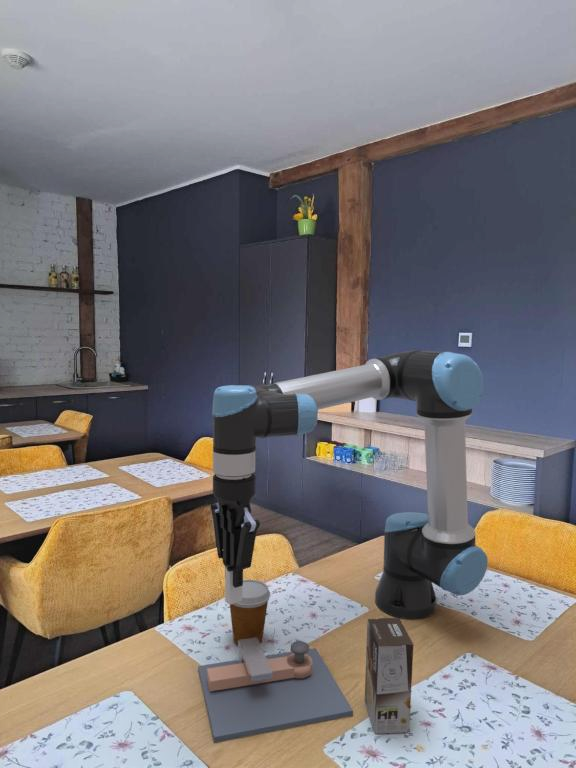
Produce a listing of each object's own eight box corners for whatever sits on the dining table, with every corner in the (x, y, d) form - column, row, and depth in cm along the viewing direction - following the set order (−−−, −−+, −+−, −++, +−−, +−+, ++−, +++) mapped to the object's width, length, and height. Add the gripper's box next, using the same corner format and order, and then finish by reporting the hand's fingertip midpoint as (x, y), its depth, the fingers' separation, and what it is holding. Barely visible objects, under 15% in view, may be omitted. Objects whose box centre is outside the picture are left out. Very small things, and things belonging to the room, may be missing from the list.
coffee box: (410, 733, 95) (415, 645, 94) (374, 734, 95) (378, 646, 93) (396, 697, 104) (399, 616, 103) (362, 698, 104) (365, 617, 102)
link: (307, 660, 113) (308, 637, 112) (315, 676, 108) (316, 651, 107) (206, 676, 107) (206, 652, 107) (210, 693, 102) (210, 668, 102)
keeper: (256, 662, 114) (257, 637, 113) (272, 700, 103) (272, 672, 102) (237, 665, 113) (238, 639, 112) (250, 704, 101) (251, 676, 101)
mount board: (315, 652, 118) (315, 647, 118) (352, 715, 99) (353, 710, 99) (198, 670, 111) (198, 665, 111) (214, 742, 92) (214, 737, 92)
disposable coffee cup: (263, 655, 117) (264, 601, 115) (220, 649, 118) (221, 596, 117) (273, 631, 126) (274, 581, 125) (233, 626, 128) (234, 576, 126)
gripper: (273, 478, 94) (271, 609, 97) (233, 462, 105) (232, 581, 107) (235, 486, 90) (235, 623, 93) (197, 468, 100) (198, 592, 103)
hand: (233, 600), depth 100 cm, fingers closed
